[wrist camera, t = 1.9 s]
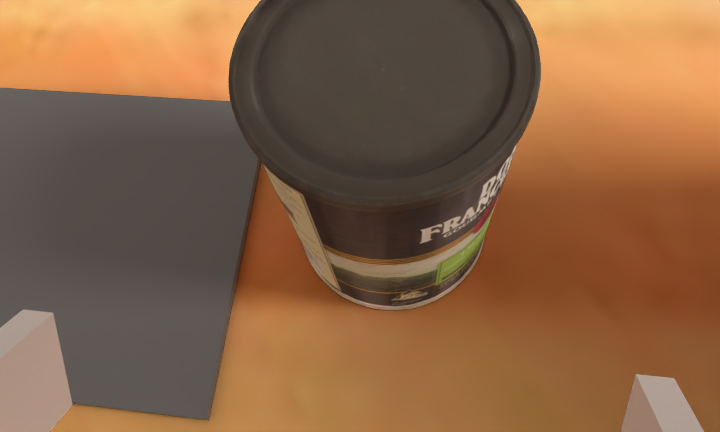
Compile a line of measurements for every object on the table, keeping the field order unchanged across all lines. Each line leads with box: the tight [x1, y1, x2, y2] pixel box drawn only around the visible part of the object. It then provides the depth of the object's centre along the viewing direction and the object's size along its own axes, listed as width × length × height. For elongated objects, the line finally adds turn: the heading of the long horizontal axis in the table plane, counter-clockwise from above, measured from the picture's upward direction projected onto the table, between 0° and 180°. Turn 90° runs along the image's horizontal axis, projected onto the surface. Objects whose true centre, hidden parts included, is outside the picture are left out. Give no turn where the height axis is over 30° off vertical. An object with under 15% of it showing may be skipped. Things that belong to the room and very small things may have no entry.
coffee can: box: [229, 0, 541, 310], centre depth 26 cm, size 10×10×14 cm
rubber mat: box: [0, 88, 261, 420], centre depth 33 cm, size 20×18×1 cm
